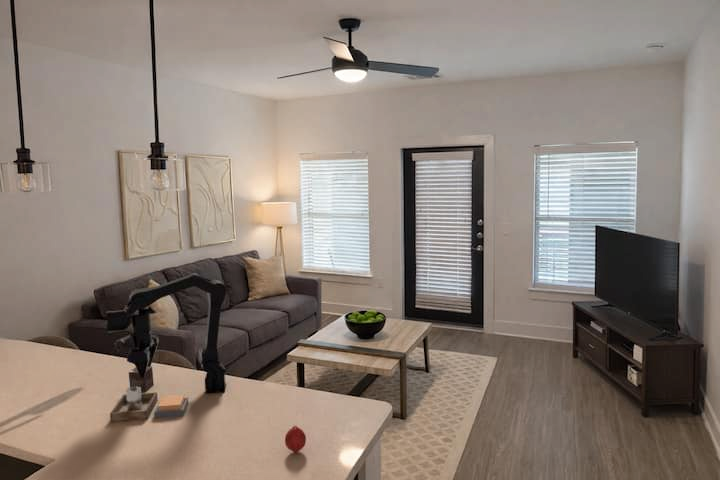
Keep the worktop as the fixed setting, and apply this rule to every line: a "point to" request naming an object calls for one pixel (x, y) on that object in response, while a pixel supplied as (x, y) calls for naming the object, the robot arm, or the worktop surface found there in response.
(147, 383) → the box
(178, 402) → the pad
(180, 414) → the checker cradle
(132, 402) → the cylinder
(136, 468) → the worktop surface
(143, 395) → the tray
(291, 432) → the onion
